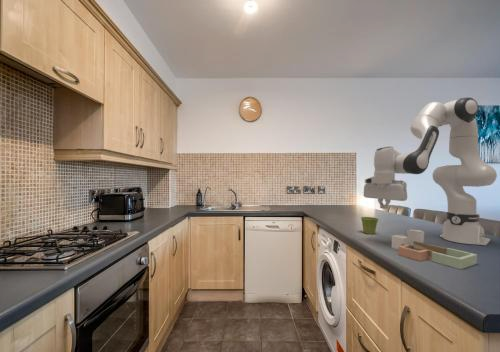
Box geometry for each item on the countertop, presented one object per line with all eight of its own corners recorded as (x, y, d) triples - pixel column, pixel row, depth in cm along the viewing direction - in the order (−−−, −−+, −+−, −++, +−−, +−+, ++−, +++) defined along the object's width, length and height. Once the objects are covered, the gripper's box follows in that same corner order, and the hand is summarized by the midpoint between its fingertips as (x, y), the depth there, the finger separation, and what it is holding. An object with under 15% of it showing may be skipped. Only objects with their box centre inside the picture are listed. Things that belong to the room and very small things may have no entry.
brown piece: (415, 248, 109) (415, 241, 109) (446, 256, 98) (446, 248, 98) (401, 251, 104) (401, 243, 104) (432, 260, 93) (432, 251, 93)
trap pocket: (405, 253, 102) (405, 244, 102) (427, 259, 95) (427, 250, 95) (398, 254, 100) (398, 246, 100) (420, 261, 93) (420, 252, 93)
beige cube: (427, 247, 111) (427, 232, 111) (410, 246, 112) (410, 231, 112) (420, 243, 118) (420, 229, 118) (404, 242, 119) (404, 228, 119)
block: (398, 246, 113) (398, 234, 113) (409, 249, 108) (409, 237, 108) (391, 247, 111) (391, 235, 111) (402, 250, 106) (402, 238, 106)
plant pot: (375, 231, 143) (376, 217, 143) (380, 235, 133) (380, 219, 133) (358, 230, 145) (359, 216, 145) (362, 234, 135) (362, 219, 135)
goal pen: (447, 256, 99) (447, 247, 99) (477, 263, 90) (477, 254, 90) (431, 261, 93) (431, 252, 93) (460, 269, 85) (461, 259, 85)
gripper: (410, 180, 109) (410, 211, 109) (369, 179, 127) (369, 205, 127) (402, 180, 106) (401, 211, 106) (361, 179, 124) (361, 206, 124)
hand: (384, 208), depth 117 cm, fingers closed
